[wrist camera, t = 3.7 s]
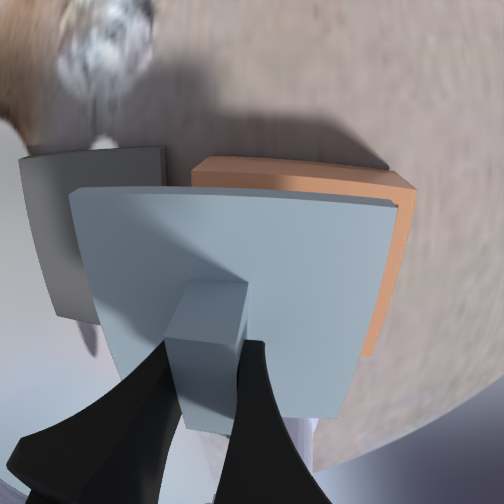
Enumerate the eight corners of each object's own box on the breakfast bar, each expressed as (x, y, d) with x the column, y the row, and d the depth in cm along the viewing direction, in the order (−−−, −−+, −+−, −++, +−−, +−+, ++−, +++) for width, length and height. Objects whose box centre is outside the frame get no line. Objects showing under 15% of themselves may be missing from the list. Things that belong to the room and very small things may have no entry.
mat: (180, 331, 23) (177, 338, 22) (61, 310, 24) (56, 315, 23) (165, 146, 17) (159, 149, 16) (25, 156, 17) (18, 159, 17)
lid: (335, 406, 15) (339, 469, 12) (132, 383, 16) (107, 437, 13) (390, 199, 10) (434, 255, 6) (80, 187, 11) (14, 230, 7)
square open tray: (362, 319, 20) (371, 356, 17) (213, 308, 21) (201, 343, 18) (394, 171, 16) (417, 190, 13) (209, 155, 17) (190, 170, 14)
